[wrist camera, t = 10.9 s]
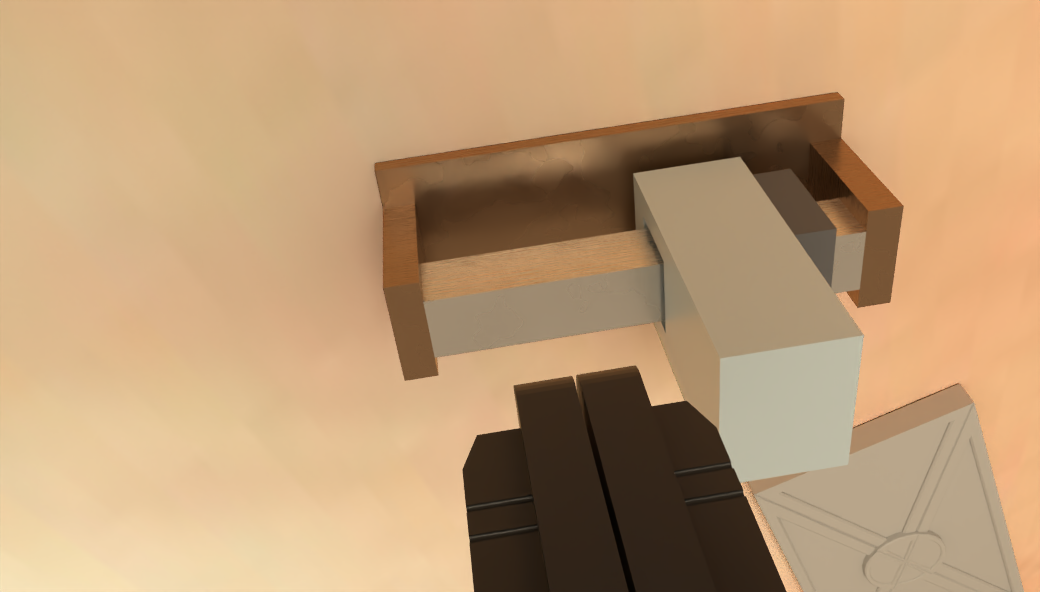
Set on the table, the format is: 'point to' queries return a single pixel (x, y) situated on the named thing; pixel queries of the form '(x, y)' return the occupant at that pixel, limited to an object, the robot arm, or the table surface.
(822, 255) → the gray brick
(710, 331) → the pale grey rectangular block
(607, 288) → the rail
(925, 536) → the envelope
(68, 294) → the table surface
